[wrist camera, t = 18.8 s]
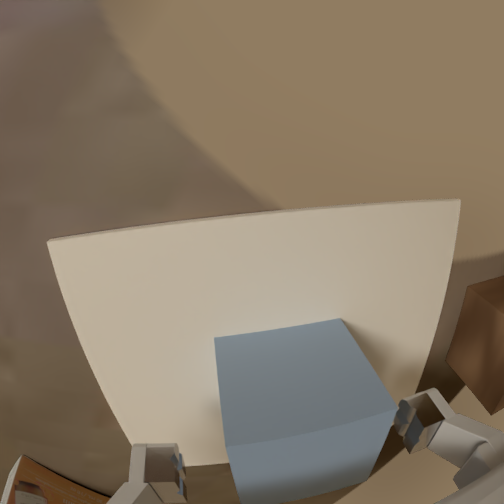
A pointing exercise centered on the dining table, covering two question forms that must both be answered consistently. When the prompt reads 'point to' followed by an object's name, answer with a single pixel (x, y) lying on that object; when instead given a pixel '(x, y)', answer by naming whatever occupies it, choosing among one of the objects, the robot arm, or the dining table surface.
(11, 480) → the small box
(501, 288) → the block
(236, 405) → the cube
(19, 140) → the dining table surface
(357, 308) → the cream flat square panel
